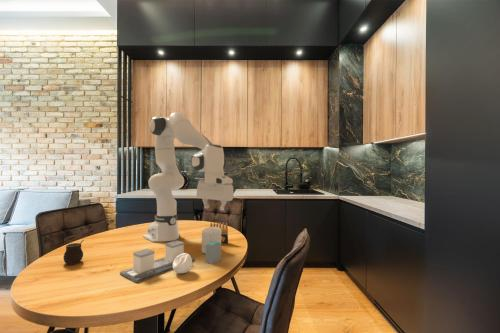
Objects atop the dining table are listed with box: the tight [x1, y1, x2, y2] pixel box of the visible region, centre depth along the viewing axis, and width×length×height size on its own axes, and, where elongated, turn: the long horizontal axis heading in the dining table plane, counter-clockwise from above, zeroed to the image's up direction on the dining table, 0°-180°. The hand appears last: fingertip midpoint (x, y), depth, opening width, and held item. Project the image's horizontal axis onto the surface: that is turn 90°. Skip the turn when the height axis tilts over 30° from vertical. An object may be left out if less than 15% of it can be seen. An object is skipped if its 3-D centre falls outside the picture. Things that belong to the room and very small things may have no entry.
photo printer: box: [201, 226, 222, 254], centre depth 129 cm, size 10×4×12 cm, turn 123°
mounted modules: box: [132, 240, 185, 273], centre depth 108 cm, size 5×21×7 cm, turn 144°
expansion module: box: [205, 241, 222, 265], centre depth 116 cm, size 4×6×8 cm, turn 144°
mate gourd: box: [63, 239, 85, 265], centre depth 111 cm, size 7×8×10 cm
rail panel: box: [119, 256, 195, 284], centre depth 108 cm, size 12×28×2 cm, turn 144°
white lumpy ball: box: [172, 252, 193, 275], centre depth 103 cm, size 8×8×8 cm
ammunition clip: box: [210, 221, 229, 245], centre depth 144 cm, size 11×2×12 cm, turn 83°
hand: (214, 209), depth 116 cm, fingers open, 8 cm apart
